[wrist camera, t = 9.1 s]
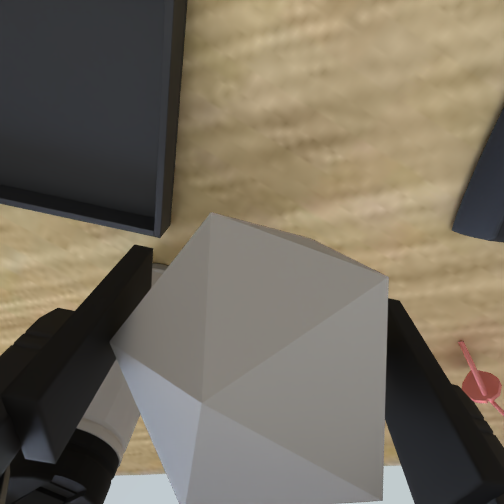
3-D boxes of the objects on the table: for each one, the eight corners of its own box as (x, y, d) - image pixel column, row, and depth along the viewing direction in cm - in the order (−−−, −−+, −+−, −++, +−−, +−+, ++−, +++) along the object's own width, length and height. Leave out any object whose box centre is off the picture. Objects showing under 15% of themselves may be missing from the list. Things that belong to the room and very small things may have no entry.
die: (208, 347, 17) (330, 548, 10) (45, 317, 10) (90, 835, 4) (299, 237, 16) (491, 375, 10) (187, 129, 10) (560, 334, 3)
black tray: (-77, 171, 26) (-113, 179, 24) (-184, -121, 17) (-262, -158, 15) (170, 225, 28) (160, 238, 25) (189, -20, 19) (176, -38, 16)
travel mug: (120, 284, 32) (-64, 518, 14) (157, 251, 29) (-8, 485, 12) (162, 317, 34) (49, 556, 16) (200, 289, 31) (114, 534, 14)
